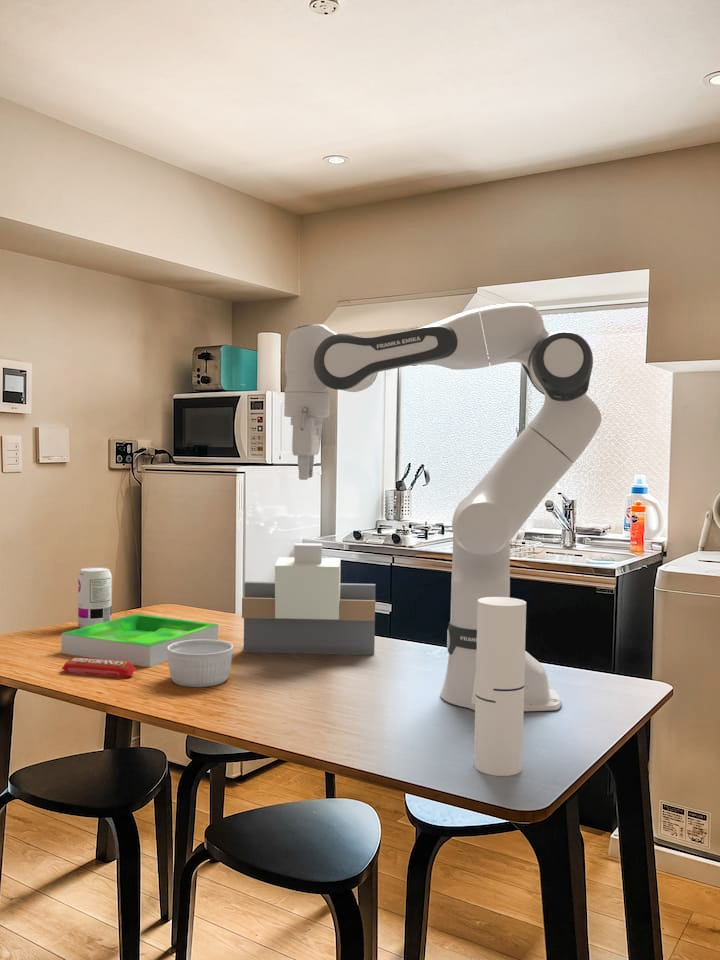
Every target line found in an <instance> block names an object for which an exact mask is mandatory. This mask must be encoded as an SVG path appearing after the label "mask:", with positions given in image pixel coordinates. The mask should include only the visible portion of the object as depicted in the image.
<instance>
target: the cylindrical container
mask: <svg viewBox="0 0 720 960" xmlns="http://www.w3.org/2000/svg"><path fill="white" fill-rule="evenodd" d="M526 624H527V601H525V600H524V599H520V598H516V597H510V598H508V597H485V598H480V599H478V608H477V652H476V696H475V711H474V740H473V741H474V743H473V744H474V745H473V746H474V749H473V750H474V751H473V767H474V768H475V769H476V770H477V771H479V772H480V773H483V774H486V775H489V776H499V777H507V776H509V777H510V776H515V775H518V774H520V773H521V772H522V770H523V752H524V749H523V746H524V742H523V741H524V712H525V711H524V675H525V651H526V629H527V625H526Z"/></svg>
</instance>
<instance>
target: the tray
mask: <svg viewBox="0 0 720 960" xmlns="http://www.w3.org/2000/svg"><path fill="white" fill-rule="evenodd" d="M197 639H209V640H219V624H218V623H212V622H211V623H209V622H203V621H194V620H188V619H186V620H185V619H179V618H178V619H177V618H170V617H163V616H156V615H155V616H154V615H149V614H139V613H134V614H130V615H126V616H123V617H119V618H116V619H111V620H110V621H106V622H103V623H99V624H95V625H91V626H87V627H83V628H80V627H79V628H77V629H73V630H68V631H66V632H62V633H61V640H60V641H61V646H60V648H61V650H60V651H61V654H65V655H70V656H71V655H72V656H76V657H77V656H78V657H82V658H88V659H100V660H112V661H123V662H129V663H131V664H132V665H133V666H139V667H146V668H152V667H155V666H157V665H160V664H162V663H166V662H169V660H168V655H167V647H168V646H169V645H170V644H172V643H176V642H180V641H186V640H197Z"/></svg>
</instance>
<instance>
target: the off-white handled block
mask: <svg viewBox="0 0 720 960" xmlns="http://www.w3.org/2000/svg"><path fill="white" fill-rule="evenodd" d="M293 548H294V549H293V550H294V553H293V555H294V557H292V556H290V557H289V556H283V557H282V556H279V557H278V558H277V560H276V562H275V564H274V582H275V618H289V619H336V620H339V601H340V583H341V567H342V566H341V561H342V560H341V559H342V558H341V557H339V558H338V557H335V558H334V557H330V558H329V557H323V543H320V542H319V543H318V542H317V543H313V542H312V543H310V542H309V543H305V542H294V547H293Z"/></svg>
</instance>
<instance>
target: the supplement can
mask: <svg viewBox="0 0 720 960" xmlns="http://www.w3.org/2000/svg"><path fill="white" fill-rule="evenodd" d="M112 576H113V575H112V572H111V570H110V568H109V567H103V566H102V567H100V566H99V567H95V566H93V567H84V568H80V572H79V573H78V576H77V578H78V579H77V588H78V589H77V626H78V628H79V629H80V628H83V627H87V626H91V625H95V624H99V623H103V622H106V621H110V620H112V601H113V600H112V592H113V591H112V581H113V580H112V579H113V578H112Z"/></svg>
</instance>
